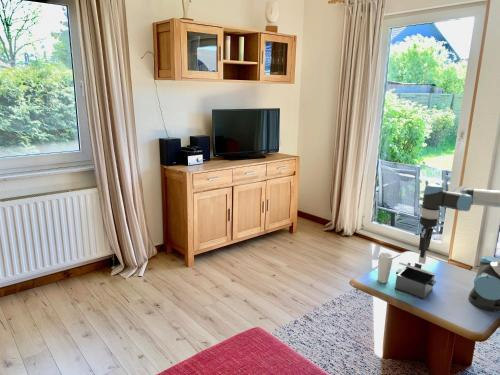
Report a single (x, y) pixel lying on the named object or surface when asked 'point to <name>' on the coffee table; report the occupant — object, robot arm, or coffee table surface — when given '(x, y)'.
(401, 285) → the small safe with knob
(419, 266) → the lid
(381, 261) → the white hollow cylinder
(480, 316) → the coffee table surface
